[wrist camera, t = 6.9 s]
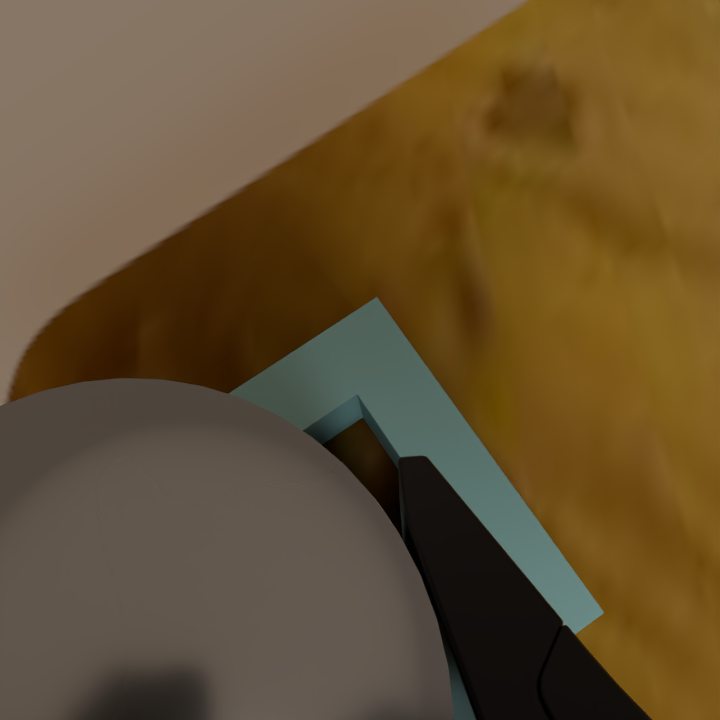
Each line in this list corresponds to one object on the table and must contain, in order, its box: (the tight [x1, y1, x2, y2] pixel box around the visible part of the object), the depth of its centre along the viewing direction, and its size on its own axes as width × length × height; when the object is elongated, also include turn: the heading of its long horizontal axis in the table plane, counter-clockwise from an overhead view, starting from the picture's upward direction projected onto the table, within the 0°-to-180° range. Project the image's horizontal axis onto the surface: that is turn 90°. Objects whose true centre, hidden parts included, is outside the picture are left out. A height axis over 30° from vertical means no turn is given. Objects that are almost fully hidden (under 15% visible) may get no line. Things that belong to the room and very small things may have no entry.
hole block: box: [228, 297, 604, 634], centre depth 16 cm, size 9×9×4 cm
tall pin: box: [0, 378, 454, 720], centre depth 9 cm, size 3×3×13 cm
